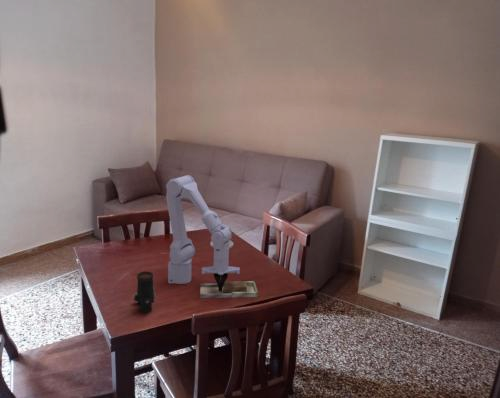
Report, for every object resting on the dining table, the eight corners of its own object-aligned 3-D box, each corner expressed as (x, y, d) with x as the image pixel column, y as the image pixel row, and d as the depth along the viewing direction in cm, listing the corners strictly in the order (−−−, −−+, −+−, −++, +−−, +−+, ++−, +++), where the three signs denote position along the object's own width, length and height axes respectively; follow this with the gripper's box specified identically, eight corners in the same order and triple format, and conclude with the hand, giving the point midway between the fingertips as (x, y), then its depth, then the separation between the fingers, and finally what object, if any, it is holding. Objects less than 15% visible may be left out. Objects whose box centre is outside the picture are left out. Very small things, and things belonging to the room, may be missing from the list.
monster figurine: (219, 251, 192) (220, 231, 189) (205, 243, 200) (205, 225, 197) (238, 245, 200) (238, 227, 197) (223, 238, 208) (224, 220, 205)
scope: (154, 265, 142) (159, 278, 133) (154, 299, 146) (160, 313, 137) (131, 268, 139) (134, 281, 130) (132, 303, 143) (136, 317, 134)
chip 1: (223, 294, 150) (223, 287, 149) (223, 288, 154) (223, 281, 154) (235, 294, 151) (235, 287, 150) (234, 288, 155) (234, 281, 154)
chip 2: (235, 294, 151) (235, 287, 150) (234, 288, 155) (234, 281, 154) (246, 293, 151) (247, 287, 151) (245, 288, 156) (245, 281, 155)
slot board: (200, 299, 147) (200, 293, 146) (200, 287, 156) (200, 281, 155) (257, 298, 150) (257, 292, 149) (254, 286, 159) (254, 281, 158)
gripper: (201, 262, 144) (201, 295, 147) (240, 262, 145) (239, 294, 149) (202, 254, 150) (201, 286, 154) (239, 254, 152) (237, 285, 156)
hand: (220, 289), depth 152 cm, fingers closed
